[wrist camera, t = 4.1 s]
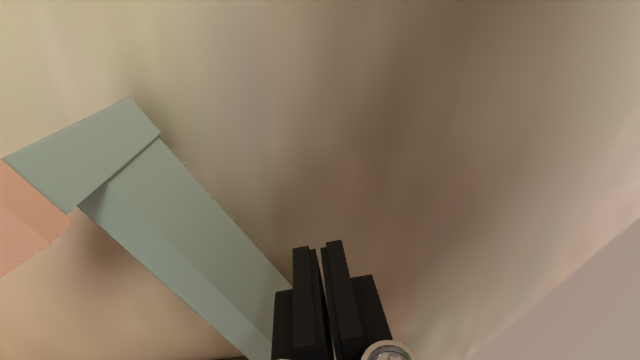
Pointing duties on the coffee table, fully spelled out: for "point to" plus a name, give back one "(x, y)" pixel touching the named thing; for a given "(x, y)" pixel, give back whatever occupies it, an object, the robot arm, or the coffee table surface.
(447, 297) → the coffee table surface
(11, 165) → the gate
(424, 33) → the coffee table surface
